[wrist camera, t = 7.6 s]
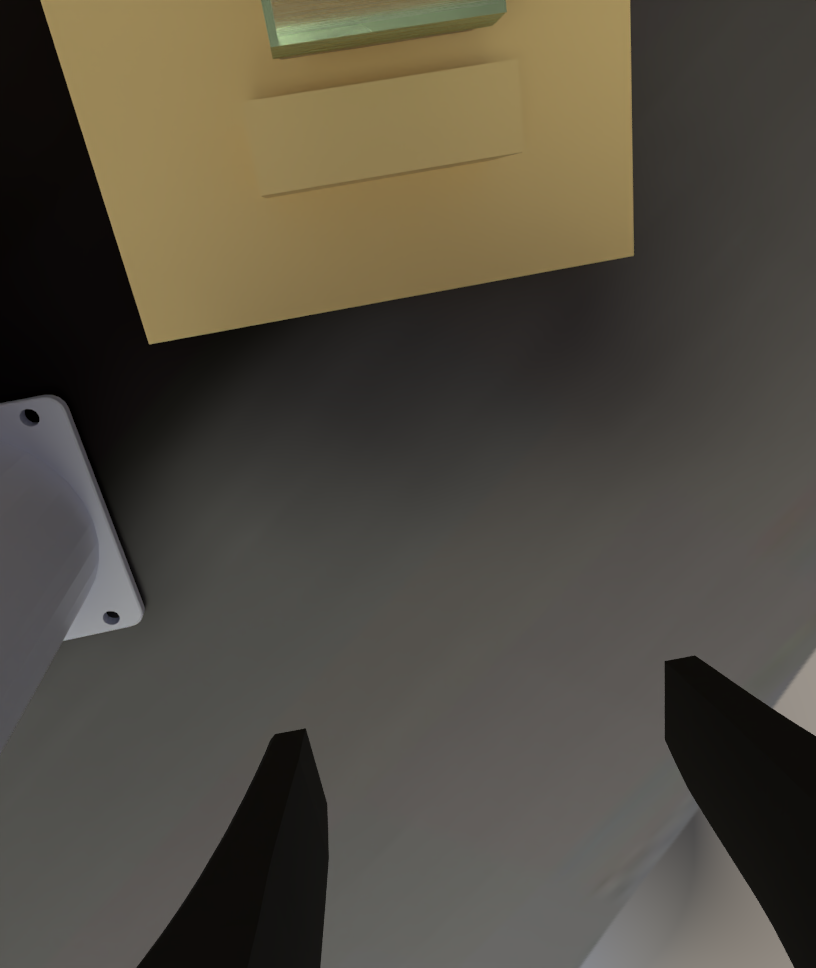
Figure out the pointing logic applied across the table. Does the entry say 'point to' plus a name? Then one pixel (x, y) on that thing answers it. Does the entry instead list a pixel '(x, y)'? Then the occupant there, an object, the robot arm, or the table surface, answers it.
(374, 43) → the silver reflective cuboid
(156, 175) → the stand
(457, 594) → the table surface
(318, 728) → the table surface
